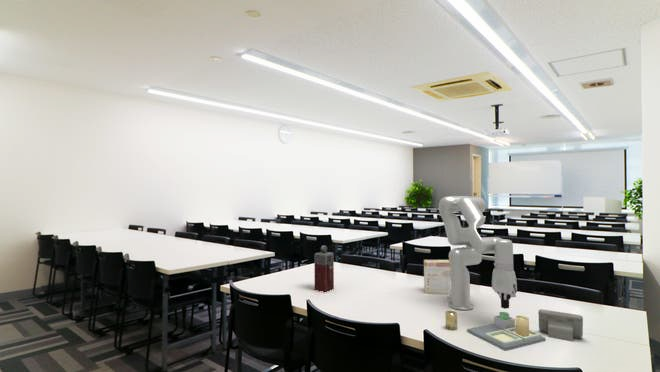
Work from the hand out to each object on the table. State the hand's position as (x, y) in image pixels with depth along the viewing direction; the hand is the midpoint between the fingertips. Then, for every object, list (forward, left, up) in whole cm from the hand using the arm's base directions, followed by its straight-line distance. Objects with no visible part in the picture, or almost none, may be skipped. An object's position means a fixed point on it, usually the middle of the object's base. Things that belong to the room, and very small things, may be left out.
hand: (505, 307), depth 158 cm
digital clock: (+14, +16, -10) cm, 24 cm away
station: (+5, -6, -10) cm, 13 cm away
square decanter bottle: (-90, -51, -10) cm, 104 cm away
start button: (-1, 0, -7) cm, 7 cm away
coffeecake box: (-58, +10, -10) cm, 60 cm away
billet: (-11, -21, -10) cm, 26 cm away
